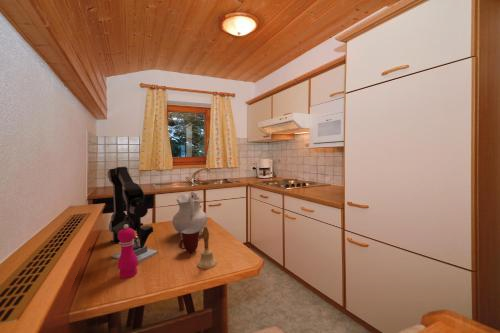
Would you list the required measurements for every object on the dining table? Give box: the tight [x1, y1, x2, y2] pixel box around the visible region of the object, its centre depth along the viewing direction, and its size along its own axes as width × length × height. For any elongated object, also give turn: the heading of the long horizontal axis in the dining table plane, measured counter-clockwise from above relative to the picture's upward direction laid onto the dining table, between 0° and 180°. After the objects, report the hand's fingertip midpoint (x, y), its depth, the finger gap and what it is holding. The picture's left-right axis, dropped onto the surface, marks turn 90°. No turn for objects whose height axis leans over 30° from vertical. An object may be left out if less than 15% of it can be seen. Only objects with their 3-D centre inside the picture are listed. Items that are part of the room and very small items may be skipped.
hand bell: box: [196, 226, 218, 270], centre depth 100 cm, size 8×8×16 cm
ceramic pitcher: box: [172, 191, 208, 238], centre depth 135 cm, size 22×20×25 cm
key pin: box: [133, 234, 140, 250], centre depth 110 cm, size 3×3×8 cm
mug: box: [178, 228, 200, 254], centre depth 112 cm, size 10×8×10 cm
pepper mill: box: [116, 224, 139, 279], centre depth 92 cm, size 7×7×20 cm
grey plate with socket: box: [112, 244, 159, 264], centre depth 110 cm, size 16×12×4 cm
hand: (135, 246), depth 110 cm, fingers open, 9 cm apart
